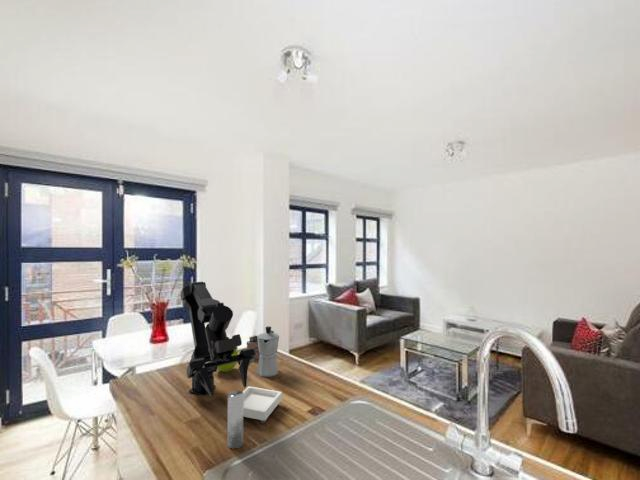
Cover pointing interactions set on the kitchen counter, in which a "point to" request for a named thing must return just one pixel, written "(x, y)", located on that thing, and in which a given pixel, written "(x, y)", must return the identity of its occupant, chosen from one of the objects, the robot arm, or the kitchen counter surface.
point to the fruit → (228, 366)
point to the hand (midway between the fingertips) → (229, 391)
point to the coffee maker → (268, 353)
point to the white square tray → (260, 402)
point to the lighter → (254, 345)
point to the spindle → (235, 419)
